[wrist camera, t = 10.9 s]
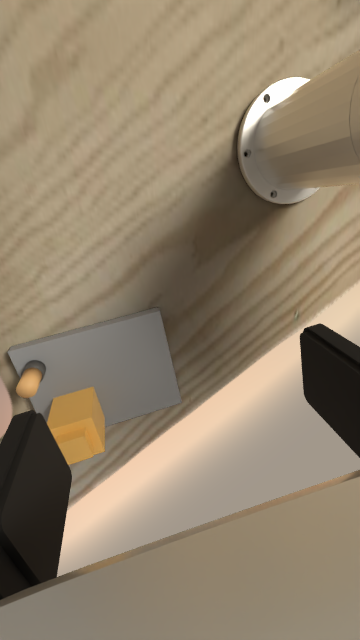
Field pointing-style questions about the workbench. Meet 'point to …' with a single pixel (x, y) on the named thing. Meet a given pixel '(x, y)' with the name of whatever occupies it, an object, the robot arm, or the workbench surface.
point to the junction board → (102, 366)
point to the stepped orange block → (78, 425)
